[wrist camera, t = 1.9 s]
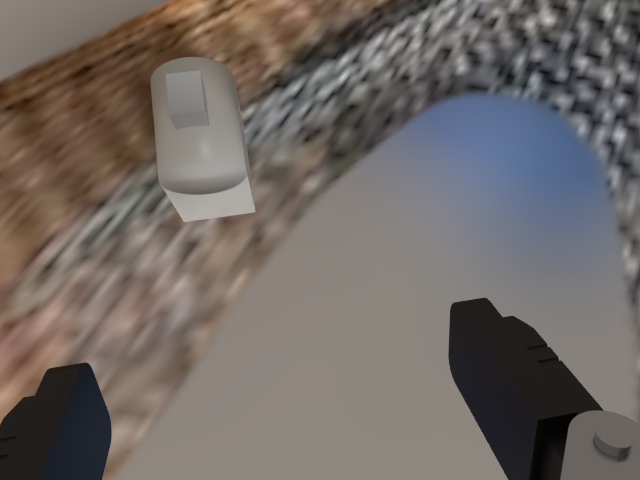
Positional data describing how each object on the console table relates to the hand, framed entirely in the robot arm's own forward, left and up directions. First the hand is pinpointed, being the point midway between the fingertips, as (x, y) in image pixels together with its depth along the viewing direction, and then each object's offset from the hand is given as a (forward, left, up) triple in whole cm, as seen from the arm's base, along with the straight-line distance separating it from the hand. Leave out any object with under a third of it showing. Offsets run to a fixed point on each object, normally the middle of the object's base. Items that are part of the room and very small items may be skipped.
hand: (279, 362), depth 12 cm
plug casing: (+3, -13, -19) cm, 23 cm away
